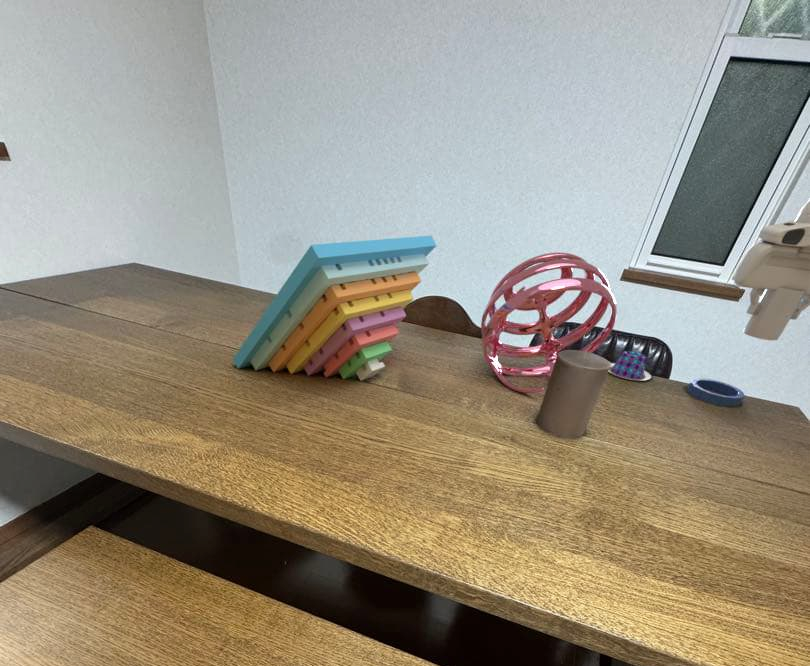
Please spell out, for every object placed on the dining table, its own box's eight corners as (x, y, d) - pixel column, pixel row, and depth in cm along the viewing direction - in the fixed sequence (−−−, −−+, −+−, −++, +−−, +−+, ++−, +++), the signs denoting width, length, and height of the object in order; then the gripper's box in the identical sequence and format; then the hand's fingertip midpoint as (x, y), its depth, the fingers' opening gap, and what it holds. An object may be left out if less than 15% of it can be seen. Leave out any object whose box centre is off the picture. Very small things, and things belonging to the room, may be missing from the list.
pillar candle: (529, 415, 93) (552, 340, 84) (574, 418, 95) (601, 344, 85) (544, 438, 86) (570, 358, 76) (592, 441, 87) (624, 363, 78)
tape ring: (725, 391, 117) (730, 382, 115) (747, 411, 108) (753, 401, 106) (679, 385, 117) (683, 375, 116) (697, 404, 108) (702, 394, 106)
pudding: (653, 375, 121) (662, 355, 118) (645, 387, 113) (654, 366, 110) (609, 362, 126) (617, 343, 122) (598, 373, 118) (605, 353, 114)
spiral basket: (652, 326, 80) (621, 207, 87) (494, 350, 83) (475, 233, 89) (604, 409, 107) (583, 313, 114) (485, 424, 110) (472, 330, 116)
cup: (767, 332, 97) (794, 285, 91) (784, 342, 92) (814, 292, 86) (737, 329, 97) (762, 282, 91) (752, 338, 92) (779, 288, 86)
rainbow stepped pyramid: (277, 431, 100) (368, 347, 74) (232, 359, 97) (311, 244, 71) (375, 389, 123) (471, 314, 97) (341, 330, 120) (431, 235, 94)
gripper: (861, 239, 85) (812, 318, 94) (753, 227, 85) (714, 306, 94) (885, 244, 80) (831, 326, 89) (771, 231, 81) (728, 314, 90)
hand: (770, 316), depth 92 cm, fingers closed on cup, 6 cm apart
